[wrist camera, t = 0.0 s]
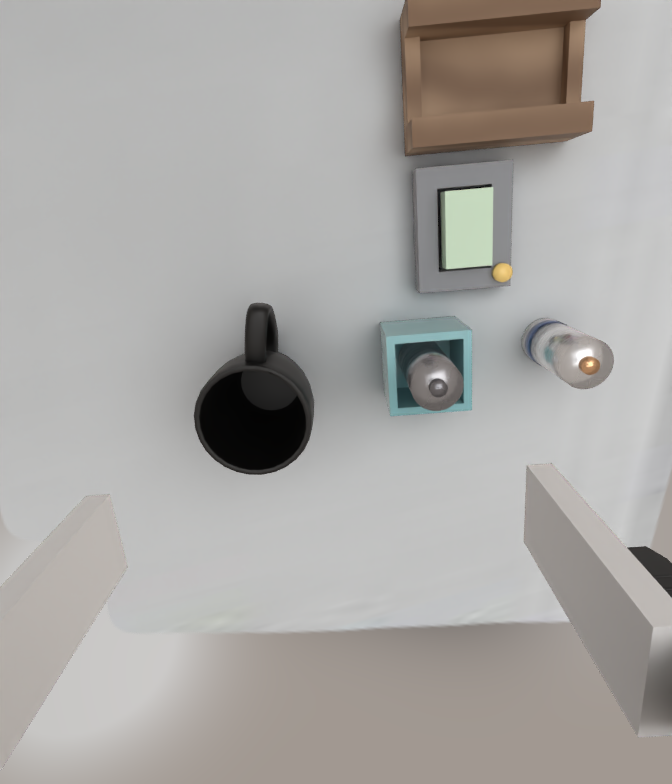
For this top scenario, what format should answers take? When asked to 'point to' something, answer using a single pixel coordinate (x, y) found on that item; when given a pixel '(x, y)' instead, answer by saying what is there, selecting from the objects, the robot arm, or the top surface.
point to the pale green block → (467, 228)
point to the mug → (256, 403)
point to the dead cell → (430, 375)
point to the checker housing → (427, 225)
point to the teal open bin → (441, 330)
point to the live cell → (568, 353)
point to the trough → (493, 73)
